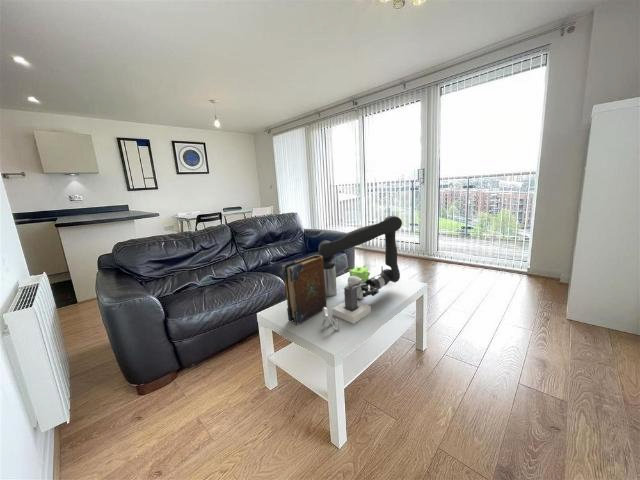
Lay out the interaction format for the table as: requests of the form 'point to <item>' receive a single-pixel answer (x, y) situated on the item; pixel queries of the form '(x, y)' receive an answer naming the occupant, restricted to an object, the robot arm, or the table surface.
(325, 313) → the portable electronic device stand
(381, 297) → the table surface
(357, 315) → the socket
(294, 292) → the decorative book
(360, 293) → the photo printer
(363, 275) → the teapot
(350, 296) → the plug
